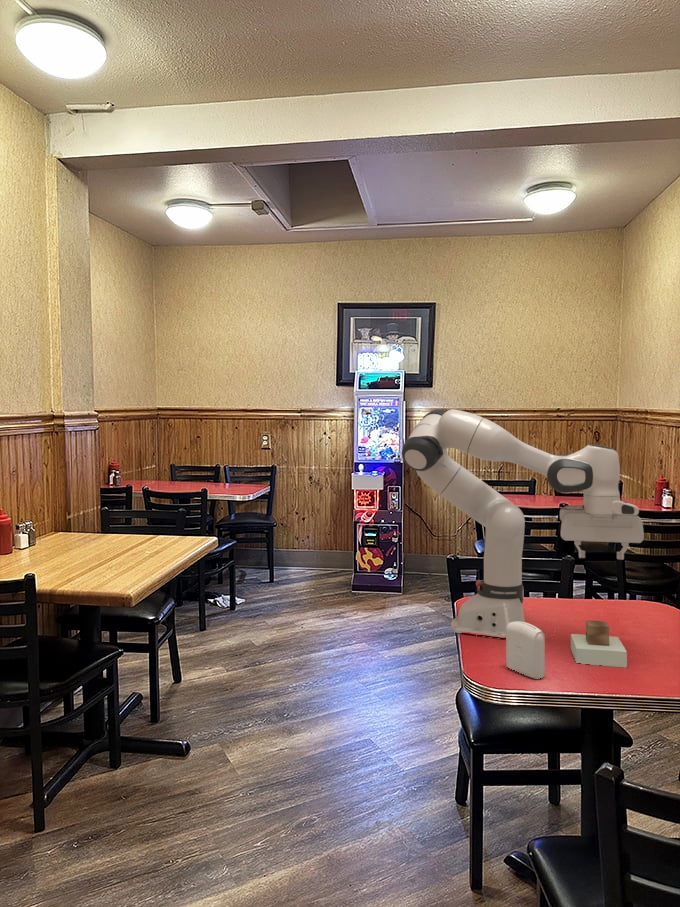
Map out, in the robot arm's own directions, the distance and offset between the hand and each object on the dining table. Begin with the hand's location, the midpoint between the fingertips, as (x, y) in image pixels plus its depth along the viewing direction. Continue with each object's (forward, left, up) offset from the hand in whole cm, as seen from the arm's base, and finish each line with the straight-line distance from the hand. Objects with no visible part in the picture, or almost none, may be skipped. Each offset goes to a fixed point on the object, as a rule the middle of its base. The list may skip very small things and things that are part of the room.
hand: (600, 558), depth 167 cm
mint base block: (-1, -2, -26) cm, 26 cm away
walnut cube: (-1, -2, -22) cm, 22 cm away
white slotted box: (-20, -17, -26) cm, 37 cm away
